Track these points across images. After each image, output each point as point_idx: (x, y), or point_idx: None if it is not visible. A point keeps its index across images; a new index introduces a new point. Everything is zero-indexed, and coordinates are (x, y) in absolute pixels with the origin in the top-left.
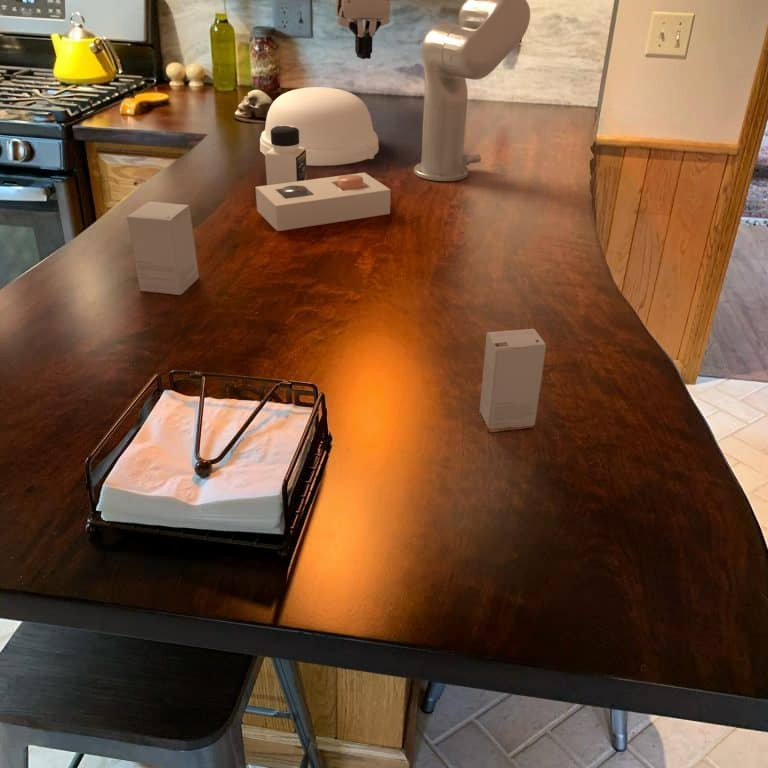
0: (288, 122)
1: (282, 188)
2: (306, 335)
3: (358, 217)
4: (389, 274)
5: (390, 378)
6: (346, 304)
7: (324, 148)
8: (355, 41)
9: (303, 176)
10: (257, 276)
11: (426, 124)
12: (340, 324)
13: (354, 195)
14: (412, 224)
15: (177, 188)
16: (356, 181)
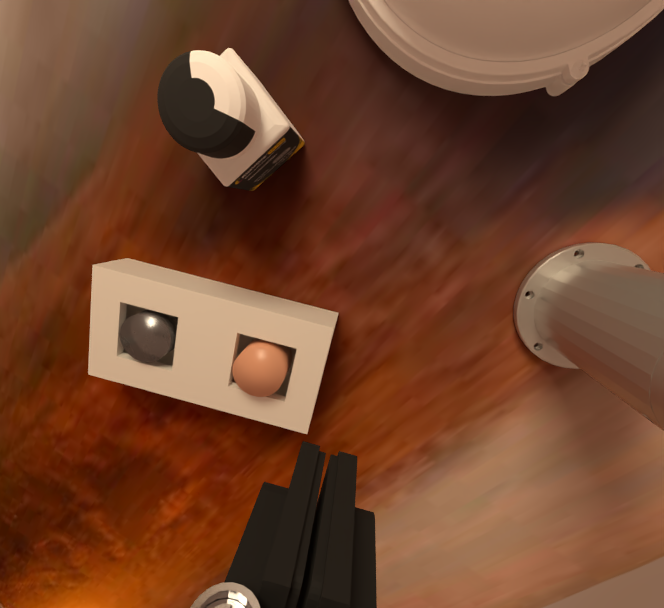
0: None
1: (126, 319)
2: (42, 572)
3: None
4: (181, 541)
5: None
6: (102, 557)
7: (424, 35)
8: (238, 550)
9: (282, 161)
10: (43, 453)
11: (608, 337)
12: (79, 578)
13: (234, 413)
14: None
15: (31, 23)
16: (257, 393)
